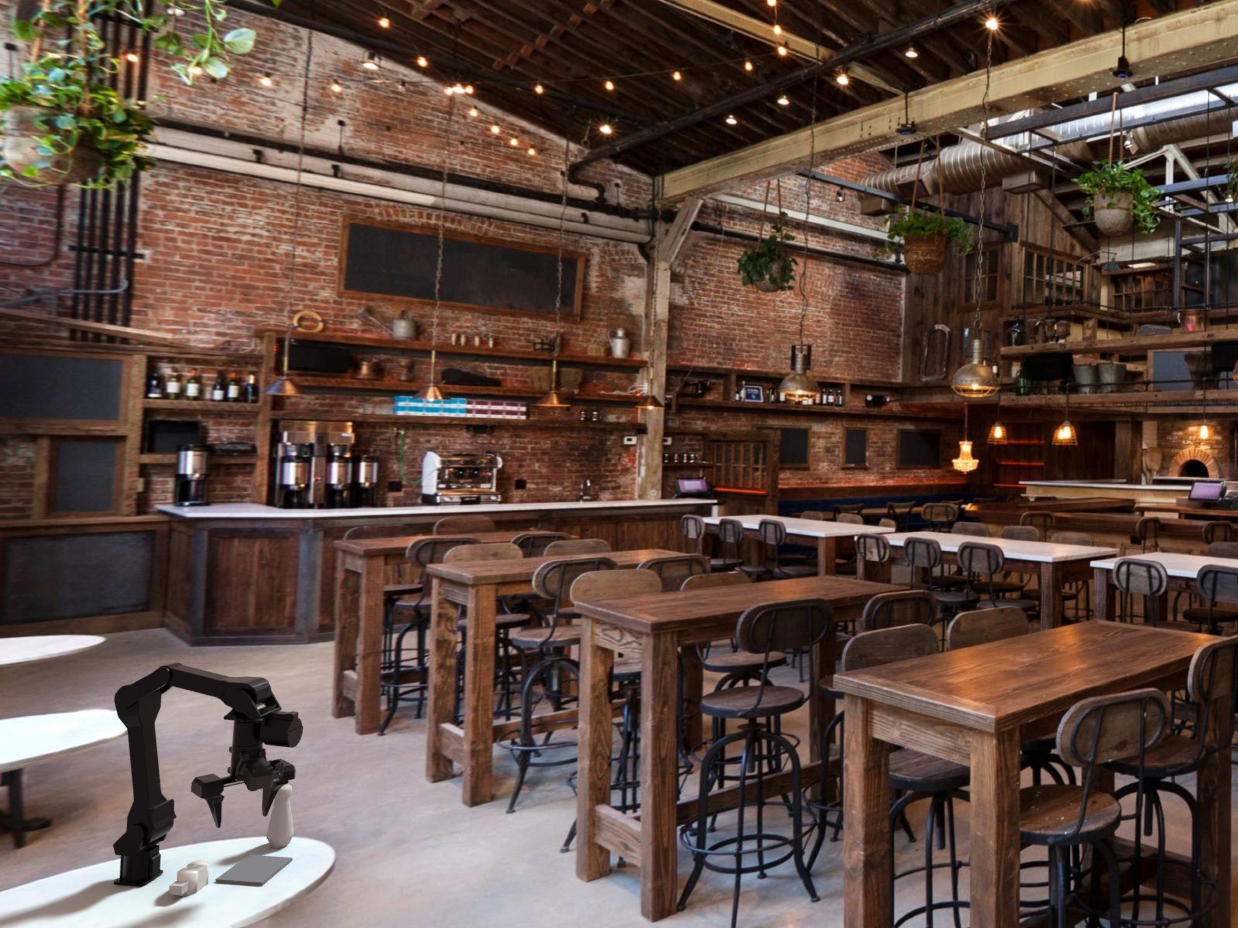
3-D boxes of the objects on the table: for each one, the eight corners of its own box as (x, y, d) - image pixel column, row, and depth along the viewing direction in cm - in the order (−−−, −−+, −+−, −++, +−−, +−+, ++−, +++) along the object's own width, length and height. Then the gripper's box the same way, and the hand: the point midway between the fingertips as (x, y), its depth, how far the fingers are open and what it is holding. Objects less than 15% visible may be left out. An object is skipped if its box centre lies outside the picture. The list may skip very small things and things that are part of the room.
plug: (193, 879, 167) (194, 859, 167) (212, 880, 167) (213, 860, 167) (165, 899, 158) (166, 878, 158) (184, 901, 158) (185, 880, 158)
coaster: (215, 881, 166) (215, 878, 166) (248, 857, 178) (248, 854, 178) (262, 885, 165) (262, 882, 165) (292, 860, 177) (292, 857, 177)
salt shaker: (283, 850, 182) (285, 790, 182) (260, 848, 183) (262, 788, 183) (298, 840, 187) (301, 782, 188) (276, 838, 188) (278, 780, 189)
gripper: (216, 761, 153) (210, 846, 152) (311, 743, 167) (305, 821, 166) (192, 747, 160) (186, 828, 159) (285, 731, 174) (280, 806, 173)
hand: (241, 821), depth 164 cm, fingers open, 9 cm apart
